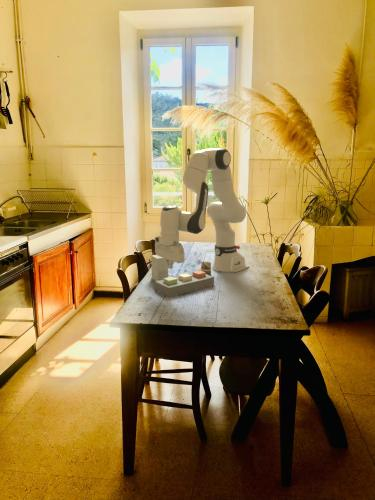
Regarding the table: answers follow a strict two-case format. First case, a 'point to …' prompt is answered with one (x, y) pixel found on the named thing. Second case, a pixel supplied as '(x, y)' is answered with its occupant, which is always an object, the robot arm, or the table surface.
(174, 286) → the console
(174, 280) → the sage button
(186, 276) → the cream button
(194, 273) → the rust button
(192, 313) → the table surface
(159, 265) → the small box
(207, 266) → the architectural model
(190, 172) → the robot arm
